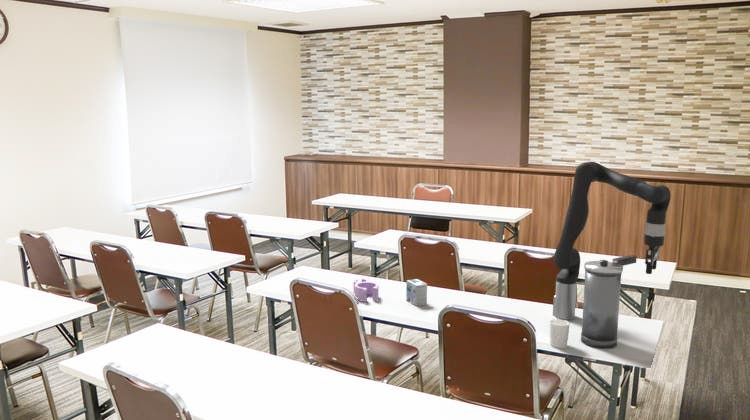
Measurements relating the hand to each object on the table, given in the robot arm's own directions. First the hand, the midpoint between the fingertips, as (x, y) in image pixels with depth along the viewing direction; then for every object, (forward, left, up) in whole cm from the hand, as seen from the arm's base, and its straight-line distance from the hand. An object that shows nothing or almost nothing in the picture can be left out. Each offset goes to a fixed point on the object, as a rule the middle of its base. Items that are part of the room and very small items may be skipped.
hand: (650, 271), depth 250 cm
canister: (-10, -18, -30) cm, 37 cm away
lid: (-10, -12, +2) cm, 15 cm away
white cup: (-17, -35, -31) cm, 50 cm away
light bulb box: (-95, -51, -31) cm, 112 cm away
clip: (-118, -68, -31) cm, 139 cm away
